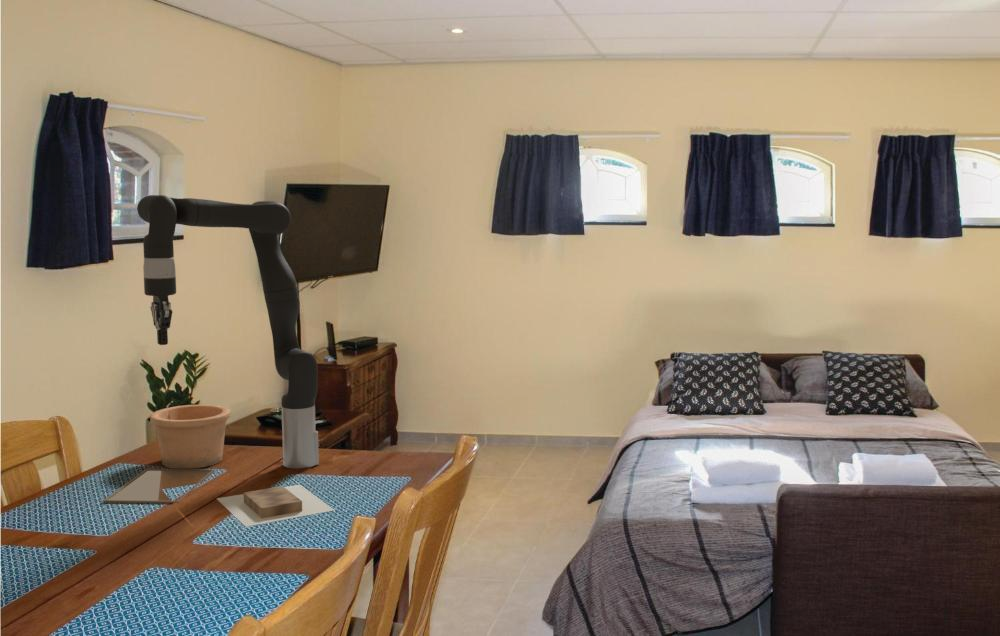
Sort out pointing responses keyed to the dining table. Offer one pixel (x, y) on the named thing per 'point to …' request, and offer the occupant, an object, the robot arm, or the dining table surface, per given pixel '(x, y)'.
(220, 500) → the mat
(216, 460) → the pottery
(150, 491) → the picture frame
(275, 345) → the robot arm
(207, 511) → the dining table surface
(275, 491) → the walnut tile
